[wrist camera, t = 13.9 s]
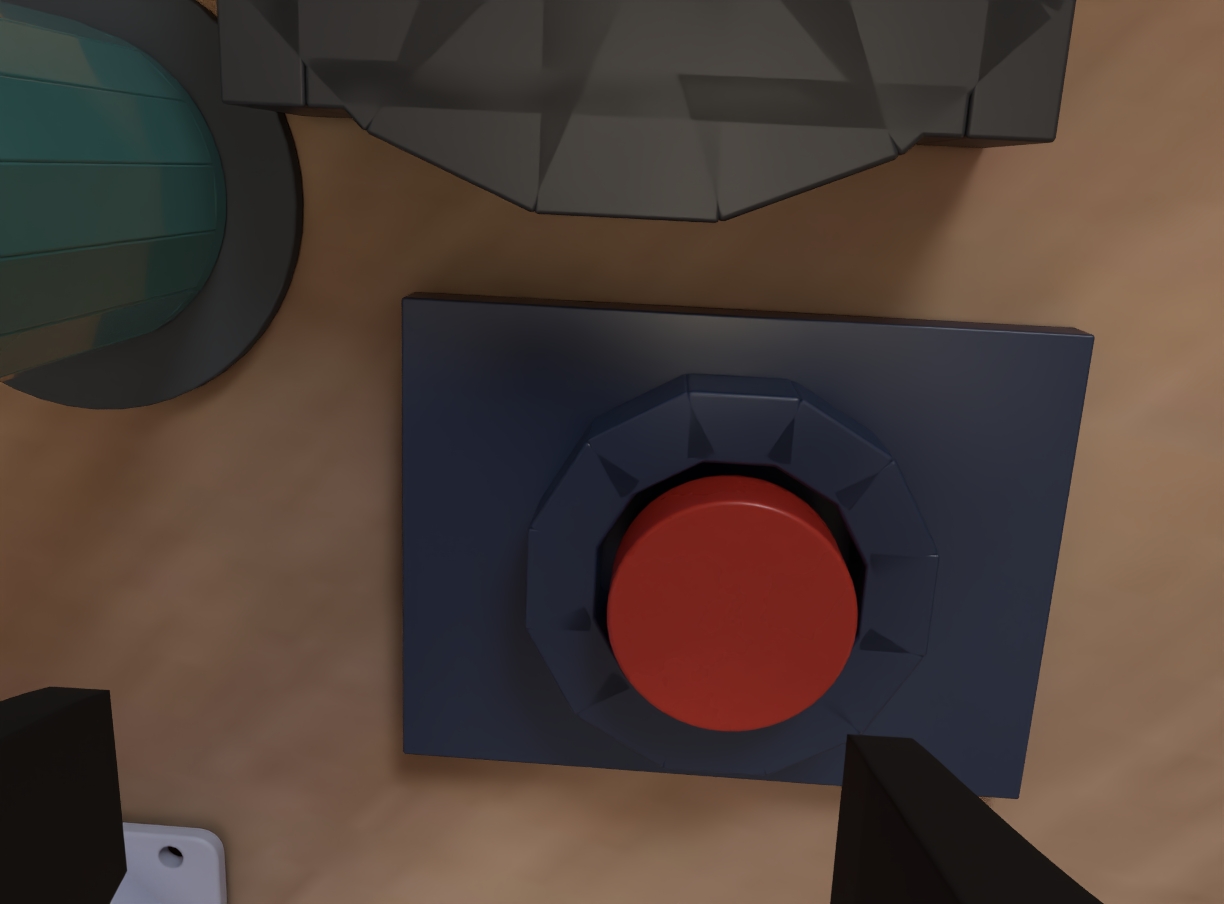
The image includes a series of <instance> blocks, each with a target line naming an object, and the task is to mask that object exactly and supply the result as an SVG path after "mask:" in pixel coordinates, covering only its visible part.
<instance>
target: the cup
mask: <svg viewBox="0 0 1224 904" xmlns="http://www.w3.org/2000/svg"><path fill="white" fill-rule="evenodd" d="M225 221H226V190H225V181H224V174H223V170H222V166H221V161H220V157H219V153H218V151H217V148H216V145H215V142H214V140H213V137H212V134H211V132H210V130H209V128H208V126H207V124H206V122H205V120H204V118H203V116H202V114H201V113H200V111H199V109H198V108H197V106H196V105H195V103H194V102H193V100H192V99H191V97H190V96H189V94H188V93H187V92H186V91H185V90H184V88H183V87H182V86H181V85H180V84H179V82H178V81H177V80H176V79H175V78H174V77H173V76H172V75H171V74H170V73H169V72H168V71H167V70H166V69H165V68H164V67H163V66H162V65H161V64H159V63H158V62H157V61H156V60H154V59H153V58H152V57H150V56H149V55H148V54H146V53H145V52H144V51H142V50H141V49H139V48H138V47H136V46H134V45H132V44H131V43H129V42H127V41H125V40H123V39H122V38H120V37H117V36H115V35H112V34H110V33H107V32H105V31H102V30H99V29H96V28H92V27H89V26H87V25H85V24H83V23H81V22H79V21H76V20H73V19H69V18H65V17H61V16H57V15H53V14H49V13H45V12H41V11H37V10H33V9H29V8H25V7H21V6H17V5H13V4H9V3H5V2H1V1H0V382H3V381H6V380H9V379H12V378H16V377H19V376H22V375H25V374H28V373H32V372H35V371H38V370H41V369H45V368H48V367H51V366H54V365H57V364H61V363H64V362H67V361H70V360H74V359H77V358H80V357H83V356H86V355H90V354H93V353H96V352H99V351H102V350H105V349H108V348H111V347H113V346H116V345H119V344H121V343H124V342H127V341H130V340H133V339H136V338H139V337H142V336H144V335H146V334H149V333H151V332H153V331H155V330H157V329H159V328H160V327H162V326H163V325H165V324H167V323H168V322H170V321H171V320H173V319H174V318H175V317H176V316H177V315H178V314H180V313H181V312H182V311H183V310H184V309H185V308H186V307H187V306H188V305H189V304H190V303H191V302H192V300H193V299H194V298H195V297H196V296H197V295H198V293H199V292H200V291H201V289H202V287H203V286H204V284H205V282H206V281H207V279H208V278H209V276H210V274H211V271H212V269H213V267H214V265H215V262H216V260H217V258H218V254H219V251H220V247H221V244H222V240H223V235H224V228H225Z"/></svg>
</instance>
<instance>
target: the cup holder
mask: <svg viewBox="0 0 1224 904" xmlns="http://www.w3.org/2000/svg"><path fill="white" fill-rule="evenodd" d="M1075 4H1076V0H217V18H218V40H219V63H220V85H221V100H222V103H224V104H229V105H235V106H242V107H248V108H255V109H262V110H268V111H275V112H282V113H288V114H295V115H302V116H318V117H339V118H353V120H354V121H355V122H356V123H357V124H358V125H359V126H360V127H361V128H362V129H363V130H366V131H367V132H368V133H369V134H370V135H372V136H374V137H376V138H379V139H381V140H383V141H385V142H387V143H389V144H391V145H393V146H395V147H397V148H399V149H401V150H403V151H405V152H408V153H410V154H412V155H414V156H416V157H418V158H420V159H422V160H424V161H426V162H428V163H430V164H432V165H434V166H437V167H439V168H441V169H443V170H445V171H447V172H449V173H451V174H453V175H455V176H457V177H459V178H461V179H463V180H466V181H468V182H470V183H472V184H474V185H476V186H478V187H480V188H482V189H484V190H486V191H488V192H490V193H492V194H495V195H497V196H499V197H501V198H503V199H505V200H507V201H509V202H511V203H513V204H515V205H517V206H519V207H521V208H524V209H526V210H528V211H530V212H535V213H538V214H551V215H571V216H591V217H610V218H630V219H650V220H669V221H689V222H709V223H716V222H718V220H720V221H726V220H729V219H731V218H734V217H737V216H740V215H742V214H745V213H748V212H751V211H753V210H756V209H759V208H762V207H765V206H767V205H770V204H773V203H776V202H778V201H781V200H784V199H787V198H790V197H792V196H795V195H798V194H801V193H803V192H806V191H809V190H812V189H815V188H817V187H820V186H823V185H826V184H828V183H831V182H834V181H837V180H840V179H842V178H845V177H848V176H851V175H853V174H856V173H859V172H862V171H864V170H867V169H870V168H873V167H876V166H878V165H881V164H884V163H887V162H889V161H892V160H895V159H896V158H897V157H898V155H902V154H905V153H906V152H907V151H908V150H910V149H911V148H912V147H913V146H914V145H915V144H917V145H934V146H955V147H976V148H988V147H1001V146H1014V145H1026V144H1039V143H1050V142H1053V141H1054V140H1055V138H1056V132H1057V126H1058V119H1059V112H1060V105H1061V99H1062V92H1063V85H1064V78H1065V72H1066V65H1067V58H1068V51H1069V45H1070V38H1071V31H1072V24H1073V18H1074V11H1075Z"/></svg>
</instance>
